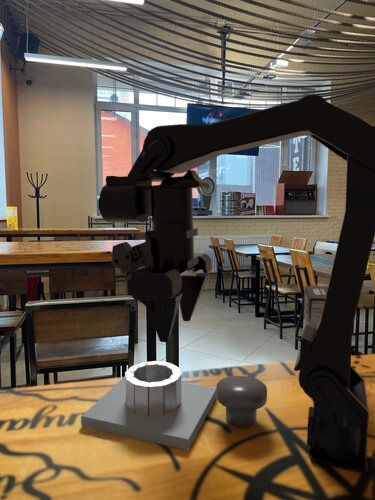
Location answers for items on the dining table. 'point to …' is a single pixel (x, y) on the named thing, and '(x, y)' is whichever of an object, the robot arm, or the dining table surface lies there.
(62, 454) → the dining table surface
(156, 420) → the mount plate
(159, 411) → the faceted ring
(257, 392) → the knob
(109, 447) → the dining table surface
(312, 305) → the coffee box
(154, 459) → the dining table surface
